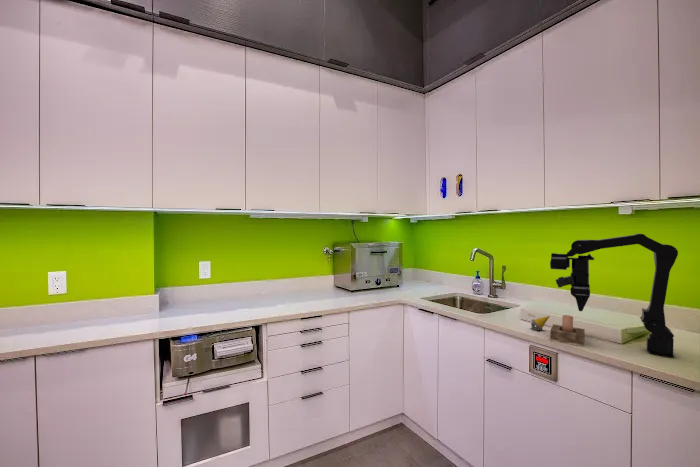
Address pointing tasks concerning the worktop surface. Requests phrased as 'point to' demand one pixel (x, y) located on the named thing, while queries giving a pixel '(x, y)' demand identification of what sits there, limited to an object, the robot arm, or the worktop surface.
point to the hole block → (567, 335)
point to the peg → (567, 323)
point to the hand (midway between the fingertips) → (580, 308)
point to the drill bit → (539, 323)
